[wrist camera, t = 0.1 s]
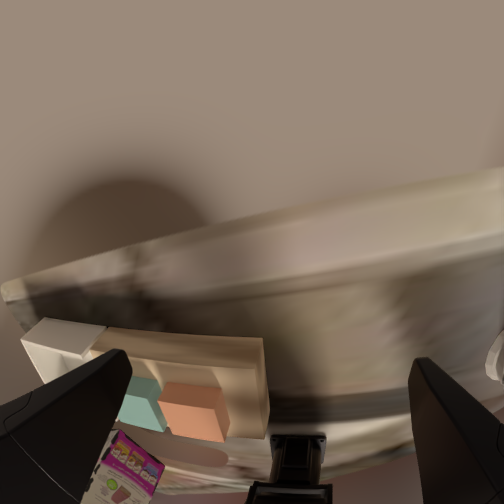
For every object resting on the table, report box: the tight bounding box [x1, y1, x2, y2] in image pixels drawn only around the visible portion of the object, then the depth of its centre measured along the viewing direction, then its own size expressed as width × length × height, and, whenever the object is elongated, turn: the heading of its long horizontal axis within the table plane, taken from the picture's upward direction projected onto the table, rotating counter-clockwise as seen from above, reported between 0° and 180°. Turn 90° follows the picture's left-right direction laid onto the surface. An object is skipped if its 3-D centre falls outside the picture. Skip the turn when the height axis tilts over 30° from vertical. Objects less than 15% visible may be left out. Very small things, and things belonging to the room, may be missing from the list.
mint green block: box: [118, 376, 168, 432], centre depth 26 cm, size 5×5×2 cm
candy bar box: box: [80, 429, 165, 504], centre depth 33 cm, size 11×5×16 cm, turn 32°
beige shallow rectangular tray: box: [89, 327, 270, 439], centre depth 28 cm, size 10×16×4 cm, turn 96°
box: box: [20, 317, 119, 421], centre depth 30 cm, size 10×11×5 cm
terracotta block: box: [157, 382, 230, 443], centre depth 24 cm, size 5×5×2 cm
